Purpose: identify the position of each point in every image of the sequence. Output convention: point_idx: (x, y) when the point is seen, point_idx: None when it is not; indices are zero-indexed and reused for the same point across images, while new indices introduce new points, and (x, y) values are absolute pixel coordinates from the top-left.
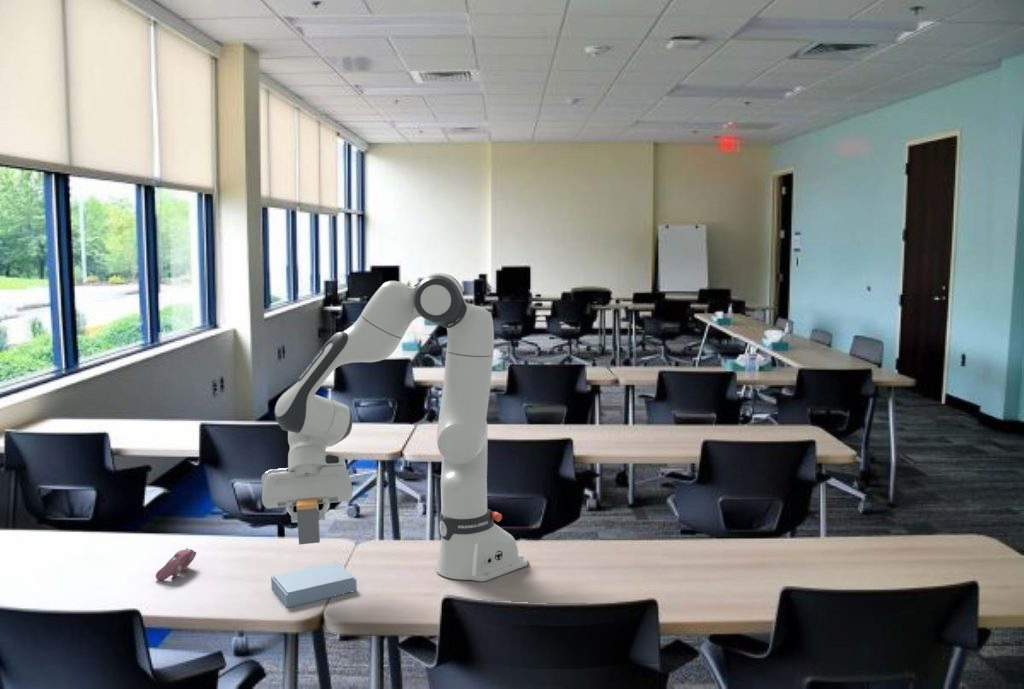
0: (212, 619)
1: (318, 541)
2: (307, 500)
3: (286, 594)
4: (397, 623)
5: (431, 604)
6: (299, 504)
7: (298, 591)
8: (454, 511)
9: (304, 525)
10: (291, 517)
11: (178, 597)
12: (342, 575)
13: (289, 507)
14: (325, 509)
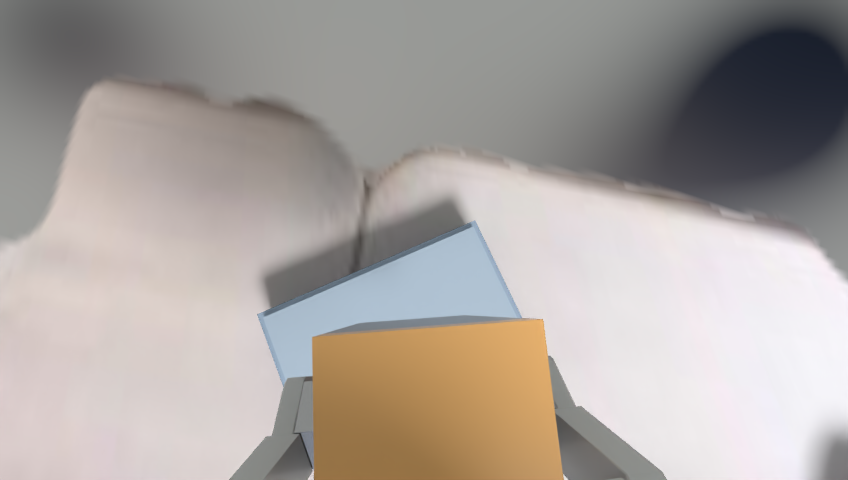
0: (647, 192)
1: (365, 322)
2: None
3: (475, 228)
4: (172, 92)
5: (60, 185)
6: (516, 356)
7: (441, 240)
8: None
9: (442, 319)
10: (554, 364)
11: (795, 351)
12: (302, 341)
13: (618, 453)
14: (264, 445)
